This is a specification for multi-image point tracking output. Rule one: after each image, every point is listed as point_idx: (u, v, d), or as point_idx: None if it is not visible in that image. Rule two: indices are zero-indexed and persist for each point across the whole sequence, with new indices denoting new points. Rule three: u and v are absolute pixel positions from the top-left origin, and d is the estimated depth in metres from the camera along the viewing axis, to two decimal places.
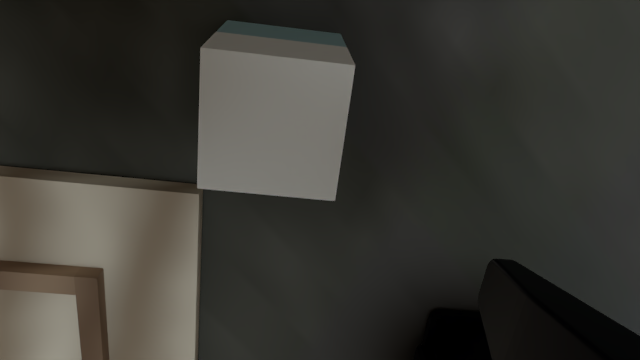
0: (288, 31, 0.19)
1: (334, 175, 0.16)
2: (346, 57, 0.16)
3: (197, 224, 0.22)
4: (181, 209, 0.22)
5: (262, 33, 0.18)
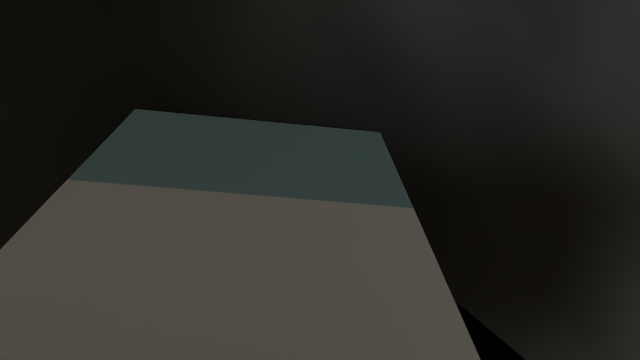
0: (266, 143, 0.08)
1: None
2: (436, 298, 0.05)
3: None
4: None
5: (199, 166, 0.07)
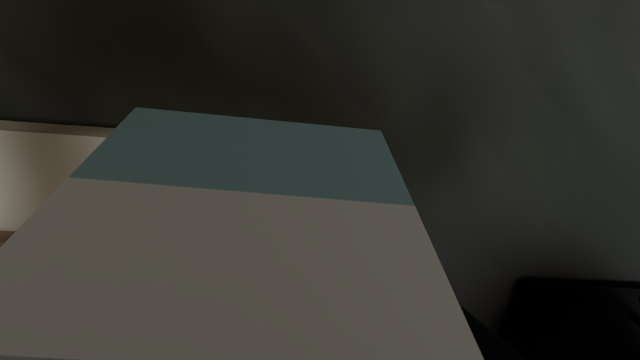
0: (267, 141, 0.08)
1: None
2: (438, 295, 0.05)
3: None
4: None
5: (200, 164, 0.07)
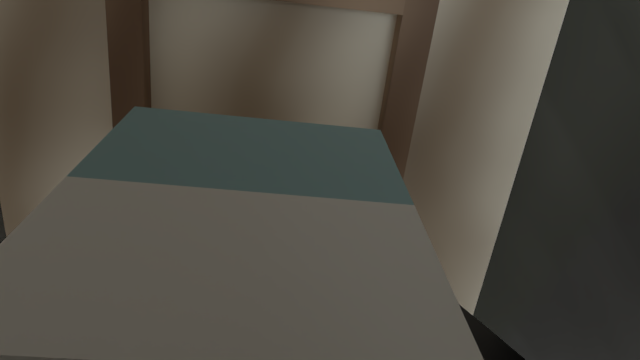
0: (266, 140, 0.08)
1: None
2: (438, 295, 0.05)
3: None
4: None
5: (199, 163, 0.07)
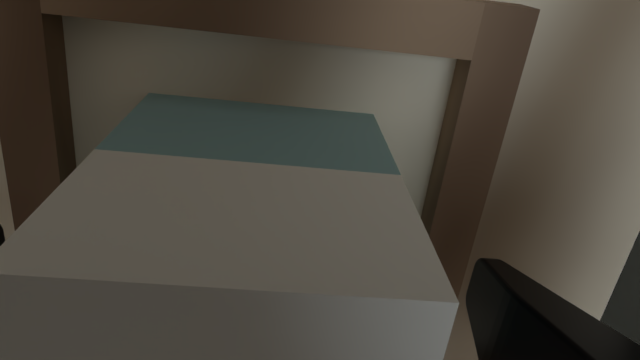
0: (269, 122, 0.09)
1: None
2: (417, 242, 0.06)
3: None
4: None
5: (209, 140, 0.08)
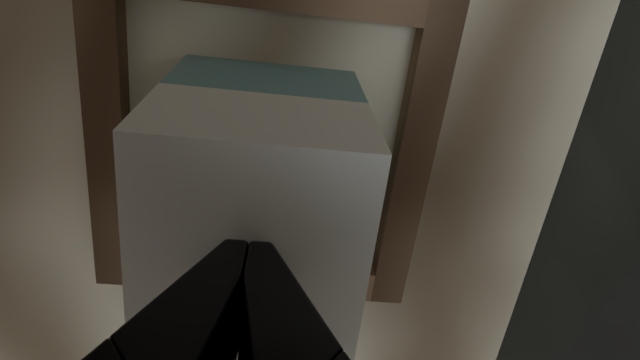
0: (276, 73, 0.13)
1: (353, 324, 0.10)
2: (372, 132, 0.09)
3: None
4: None
5: (235, 81, 0.12)
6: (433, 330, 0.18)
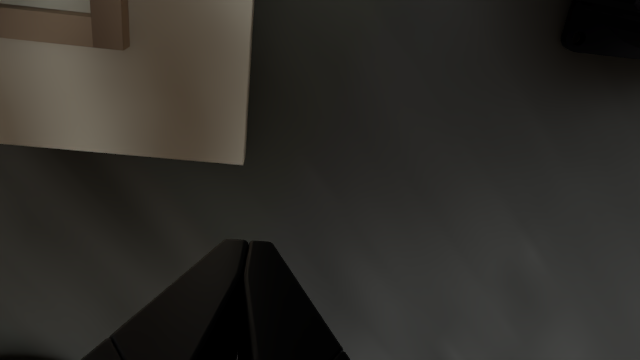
0: None
1: None
2: None
3: None
4: None
5: None
6: (176, 97, 0.19)
